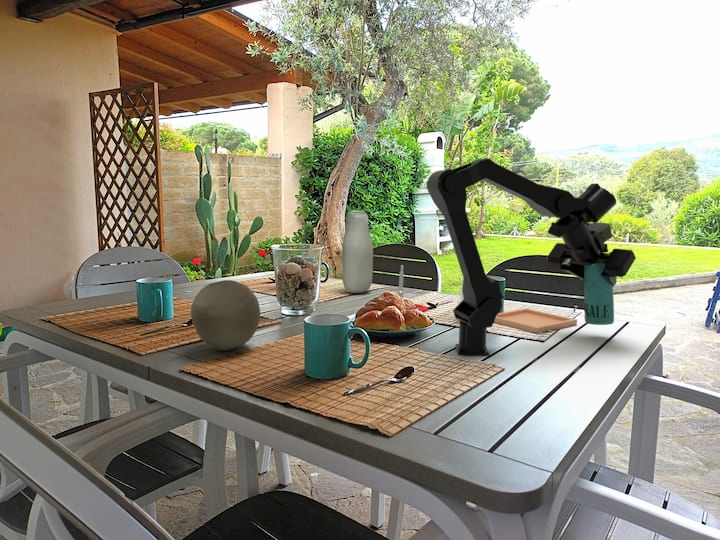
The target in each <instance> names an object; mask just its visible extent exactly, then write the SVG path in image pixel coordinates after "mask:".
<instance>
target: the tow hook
mask: <svg viewBox="0 0 720 540" xmlns="http://www.w3.org/2000/svg"><path fill="white" fill-rule="evenodd" d="M404 275H405V274H404V265H402V264H401V265H400V272H399V279H398V291H397V295H399V296H400V297H402V298H403V299H404V291H403V289H404ZM413 304H414V305H415V306H416V307H420V308H417V309H418V310H419V311H422V312H423V313H426V312H427V311H428V310H429V308H428V306H426V305H423V304H419V303H413ZM416 307H415V308H416ZM421 308H422V309H421ZM428 312H429V311H428Z"/></svg>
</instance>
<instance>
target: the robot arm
mask: <svg viewBox="0 0 720 540" xmlns="http://www.w3.org/2000/svg"><path fill="white" fill-rule="evenodd" d="M481 181H483V182H485V183H487V184H489V185H491V186H494V187H495V188H498V189H499V190H501V191H504V192H506V193H508V194H511V195H512V196H514V197H517V198H518V199H520V200H522V201H524V202H526V204H527V205H528V206H529V207H530V208H531V209H532V210H533V211H535V212H536V213H537V214H539V215H540V216H542V217H546V218H547V217H548V218H556V221H555V222H554V221H553V222H551V224H550V227H548V230H547V233H548V235H551V236H554V237H557V238H559V239H560V238H561V239H562V240H563V242H557V243H555V245H554V246H553V247H552V248H551V250H550V251H549V253H548V255H547V256H546V262H547V264H548V265H549V267H550V268H555V269H560V270H561V271H564V272H566V273H568V274H571V275H573V276H575V277H577V278H578V279H580V280H582V281H584V265H588V266H591V265H595V264H596V263H603V265H604V270H603V272H602V273H601V276H602V277H603V278H604V279H605V280H606V281H607V282H608V283H610V284H611V285H612V286H613V287H615V286H616V284H617V278H618V277H619V278H623V277H625V276H626V275H627V274H628V272H629V270H630V268H631V267H632V266H633V263H634V262H635V261H636V259H637V256H636V255H635V253H634V251H633V249H626V248H613V249H612V250H611V251H610V252H606V253H600V251H601V250H603V249H604V248H605V244H606V243H607V241H608V240H610V239H612V237H613V235H612V234H613V233H612V227H611V224H610V223H609V222H608V223H605V222H599V221H600V220H601V219H602V218H603V217H604V216H605V215H606V214H608V213H609V211H610V210H611V209H613V208H614V207H615V206H616V205H617V198H616V197H615V195H614V194H613V193H612V192H610V191H609V190H607V189H605V188H603V187H602V186H601V185H600V184H599V183H590V185H588V186H587V188H586V189H585V191H583V193H581V194H580V195H579V196H578V197H575V196H574V195H573V194H572V193H571V192H570V191H569V190H566V189H562V188H557V187H554V186H548V185H543V184H539V183H537V182H535V181H533V180H531V179H529V178H527V177H525V176H523V175H521V174H518V173H516V172H514V171H512V170H510V169H509V168H506V167H504V166H502V165H500V164H499V163H496V162H494V161H493V160H492V159H491V158H487V157H485V158H484V157H483V158H478V159H474V160H472V162H469V163H467V164H464V165H461V166H458V167H455V168H453V169H451V168H450V169H442V170H437V171H434V172H432V173H431V174H430V175H429V176H428V178H427V181H426V190H427V192H428V195H430V198H431V200H432V201H433V203H434V205H435V206H436V208H437V209H438V210H439V212H440V213H441V214H442V216H443V219H444V222H445V224H446V227H447V231H448V234H449V237H450V239H451V243H452V245H453V249H454V252H455V255H456V258H457V263H458V265H459V268H460V270H461V274H462V277H463V278H462V280H463V288H462V291H463V298H464V299H463V300H462V302H461V303H460V302H459V303H458V304H457V306H455V308H454V309H453V310H452V312H453V315H454V319H456V320H458V321H459V325H458V326H459V327H458V329H459V331H458V334H459V335H458V343H455V345H454V346H455V349H456V351H457V354H458V355H464V356H465V355H467V356H468V355H469V356H471V355H472V356H477V355H478V356H490V353H491V352H490V351H489V349H488V347H487V331H488V329H487V328H492V327H493V325H494V324H495V323H494V320H495V318H496V315H497V314H498V313H501V309H503V301H502V299H504V298H505V297H504V295H503V294H502V292H501V289H500V283H499V280H497V279H495V278H492V277H489V276H488V275H487V273H486V271H485V268H484V266H483V263H482V259H481V256H480V252H479V249H478V247H477V242H476V240H475V236H474V233H473V231H472V226H471V223H470V221H469V217H468V214H467V210H466V208H467V197H468V196H467V189H468V188H470V187H471V186H474V185H475V184H478V183H479V182H481ZM557 218H558V219H557Z"/></svg>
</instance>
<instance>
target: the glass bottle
mask: <svg viewBox="0 0 720 540" xmlns="http://www.w3.org/2000/svg"><path fill="white" fill-rule="evenodd" d="M342 240H343V241H342V245H341V261H342V262H341V263H342V266H341V267H342V269H341V270H342V271H341V272H342V273H341V274H342V275H341V276H342V277H341V278H342V282H343V283H342V284H343V287H344V289H345V290H346V291H347V292H349V293H351V294H363V293H366V292H367V291H368V290H369V289H370V288H371V286H372V283H373V271H374V270H373V267H374V265H373V260H374V259H373V258H374V251H373V250H374V246H373V240H372V237H371V233H370V229H369V217H368V214H367V212H366V211H363V210H361V209H355V210H350V211H349V212H348V213H347V214H346V218H345V231H344V235H343V239H342Z"/></svg>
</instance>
